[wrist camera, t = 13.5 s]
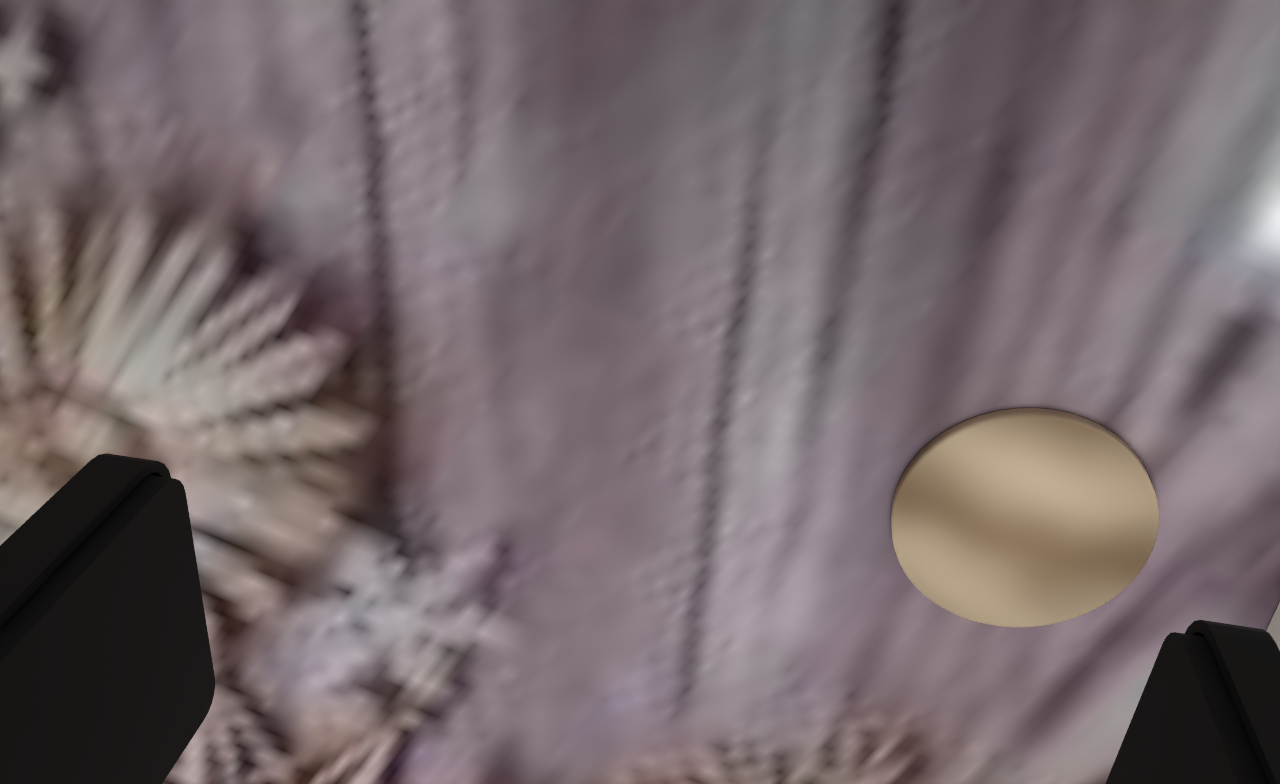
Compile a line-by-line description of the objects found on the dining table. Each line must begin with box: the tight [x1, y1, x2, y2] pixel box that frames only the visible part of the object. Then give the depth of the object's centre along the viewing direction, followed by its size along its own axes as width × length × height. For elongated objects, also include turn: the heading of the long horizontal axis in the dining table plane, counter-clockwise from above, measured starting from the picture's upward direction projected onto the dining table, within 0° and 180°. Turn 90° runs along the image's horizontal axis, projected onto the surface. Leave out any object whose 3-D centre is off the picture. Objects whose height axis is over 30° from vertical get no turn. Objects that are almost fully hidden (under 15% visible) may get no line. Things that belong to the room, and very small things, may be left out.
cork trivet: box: [891, 408, 1159, 627], centre depth 44 cm, size 10×10×1 cm
